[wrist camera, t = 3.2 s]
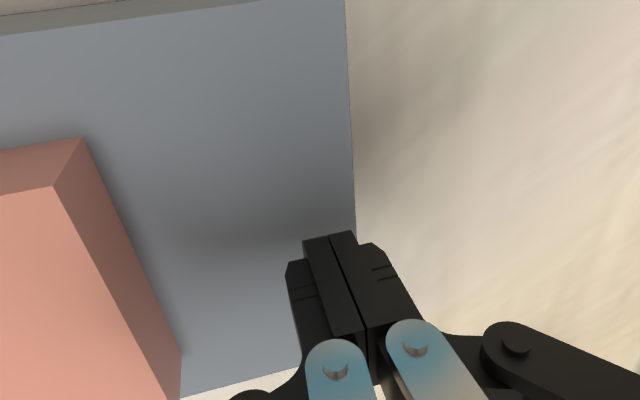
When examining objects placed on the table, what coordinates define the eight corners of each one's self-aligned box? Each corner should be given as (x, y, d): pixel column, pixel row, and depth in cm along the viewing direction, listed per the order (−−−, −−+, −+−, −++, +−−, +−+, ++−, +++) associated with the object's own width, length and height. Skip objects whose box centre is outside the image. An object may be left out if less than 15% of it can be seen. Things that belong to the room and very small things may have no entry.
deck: (-278, 51, 11) (-486, 101, 8) (308, -24, 13) (343, -10, 10) (0, 367, 19) (-43, 458, 15) (337, 284, 21) (362, 349, 18)
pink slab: (-193, 183, 9) (-303, 252, 7) (82, 136, 10) (52, 186, 8) (9, 400, 14) (-23, 476, 12) (182, 355, 15) (178, 420, 13)
